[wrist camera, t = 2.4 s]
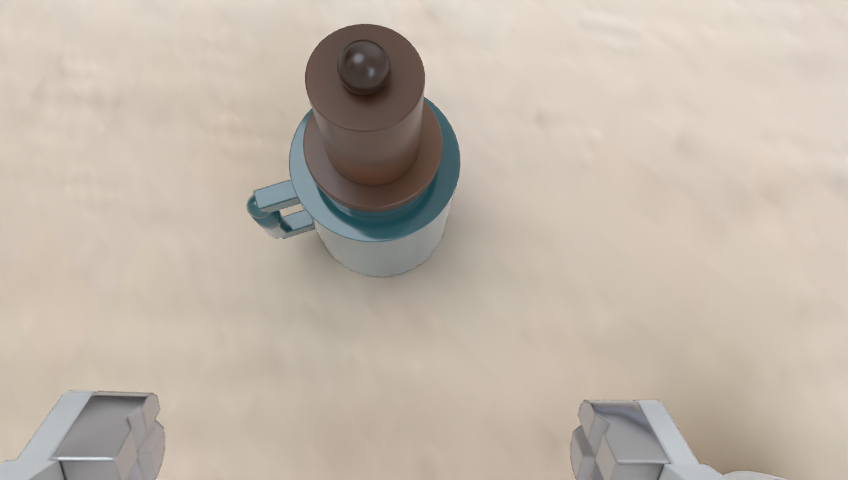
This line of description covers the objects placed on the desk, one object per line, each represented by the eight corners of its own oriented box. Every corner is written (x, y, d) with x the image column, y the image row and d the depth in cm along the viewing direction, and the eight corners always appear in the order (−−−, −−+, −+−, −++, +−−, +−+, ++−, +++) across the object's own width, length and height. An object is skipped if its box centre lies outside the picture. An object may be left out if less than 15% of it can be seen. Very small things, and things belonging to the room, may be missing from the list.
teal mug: (421, 137, 42) (429, 47, 30) (464, 252, 40) (488, 202, 28) (261, 186, 40) (207, 110, 29) (297, 308, 38) (255, 277, 27)
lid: (415, 70, 30) (421, -49, 22) (460, 188, 29) (484, 109, 20) (289, 107, 29) (244, -2, 21) (328, 231, 28) (296, 166, 20)
